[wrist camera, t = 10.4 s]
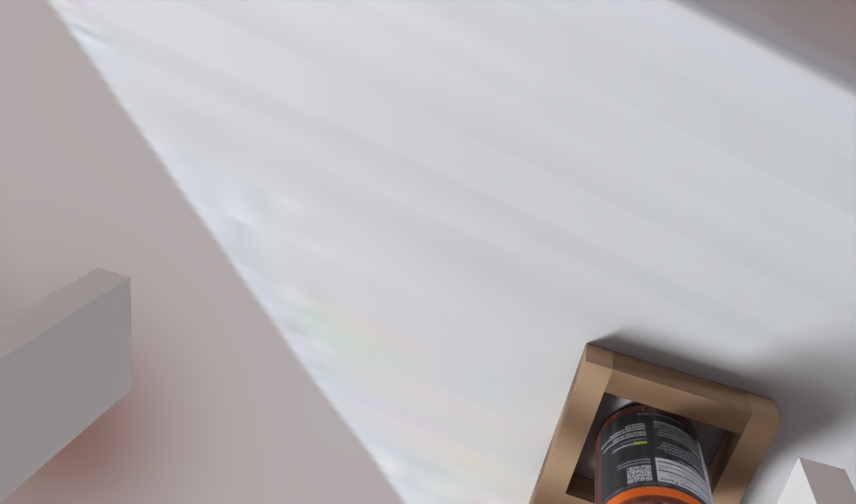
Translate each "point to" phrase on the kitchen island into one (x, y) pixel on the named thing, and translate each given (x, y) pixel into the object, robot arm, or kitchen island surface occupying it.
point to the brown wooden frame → (667, 390)
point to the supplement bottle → (649, 460)
